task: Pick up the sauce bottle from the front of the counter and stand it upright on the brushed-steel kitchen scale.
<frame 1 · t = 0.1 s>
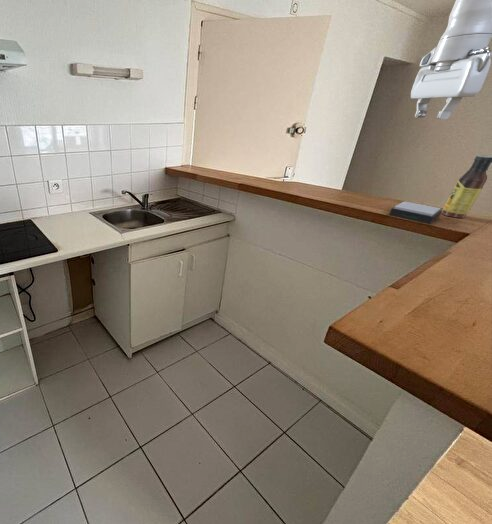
hand: (429, 118, 74), 31 cm above the worktop, tool pointing down, fingers open, 8 cm apart
sauce bottle: (452, 216, 98), on the worktop
kitchen scale: (413, 216, 98), on the worktop
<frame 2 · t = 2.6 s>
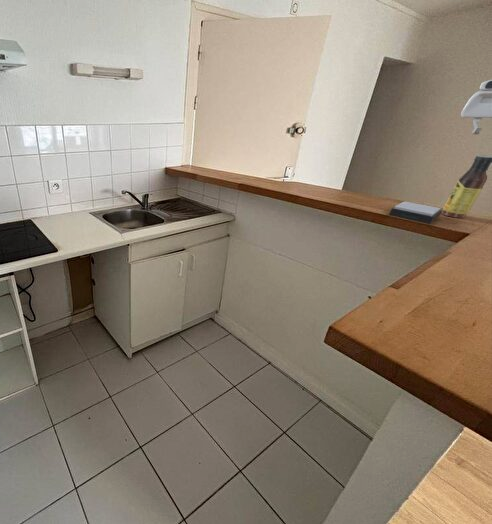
nothing on the worktop moved.
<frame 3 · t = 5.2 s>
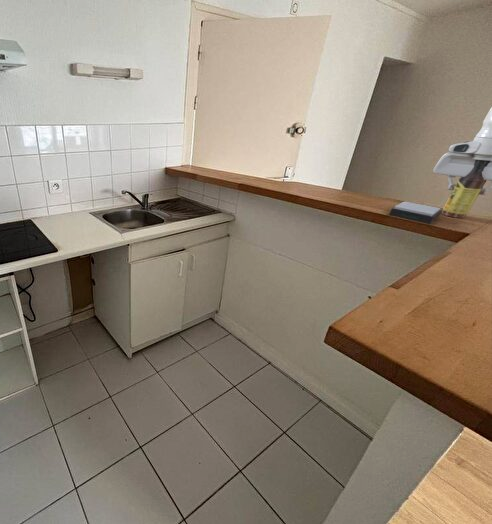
hand: (465, 192, 94), 8 cm above the worktop, tool pointing down, fingers closed on sauce bottle, 6 cm apart
sauce bottle: (452, 216, 98), on the worktop, touching arm, gripper
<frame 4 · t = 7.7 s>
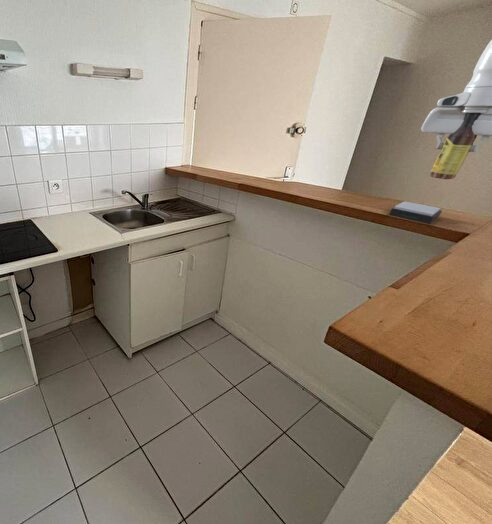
hand: (454, 150, 88), 21 cm above the worktop, tool pointing down, fingers closed on sauce bottle, 6 cm apart
sauce bottle: (440, 178, 92), point 13 cm above the worktop, touching arm, gripper
when the fingers open (12 cm above the worktop, at t = 10.7 s): sauce bottle stays where it is, resting on kitchen scale.
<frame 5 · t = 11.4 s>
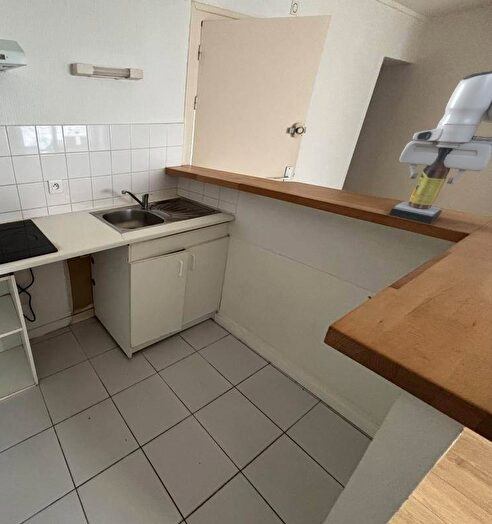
hand: (430, 181, 92), 12 cm above the worktop, tool pointing down, fingers open, 8 cm apart
sauce bottle: (418, 207, 97), point 3 cm above the worktop, touching kitchen scale
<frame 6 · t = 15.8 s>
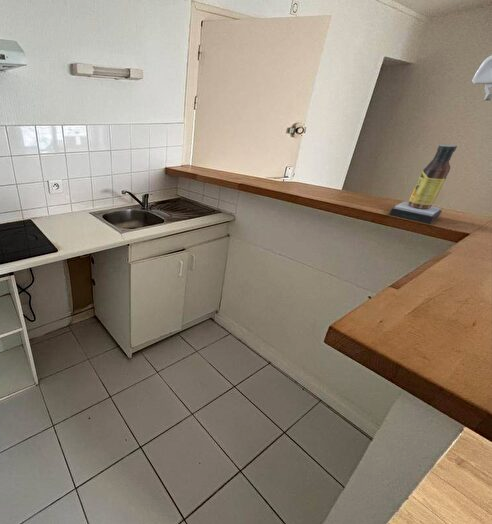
nothing on the worktop moved.
at the end: sauce bottle inside the target area on the kitchen scale (0.2 cm from its centre), point 3.0 cm above the kitchen scale's base; sauce bottle tilted 0°; the gripper is holding nothing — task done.
